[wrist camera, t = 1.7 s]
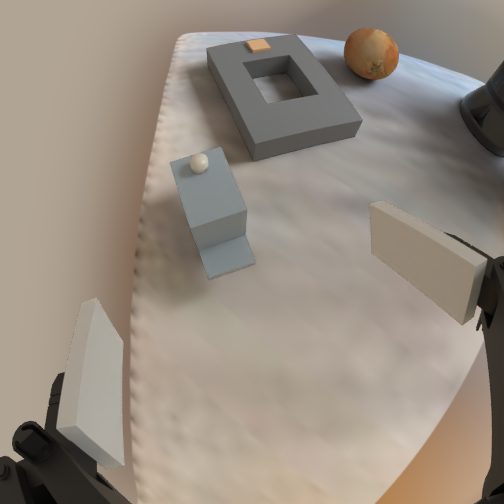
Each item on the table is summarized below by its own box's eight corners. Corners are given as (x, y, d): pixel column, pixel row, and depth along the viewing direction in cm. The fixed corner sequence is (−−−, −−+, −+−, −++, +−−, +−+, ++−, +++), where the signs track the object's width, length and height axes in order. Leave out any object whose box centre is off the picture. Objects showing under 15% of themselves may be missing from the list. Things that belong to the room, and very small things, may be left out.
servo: (253, 273, 36) (260, 237, 25) (212, 287, 35) (199, 258, 24) (217, 179, 40) (211, 117, 28) (180, 191, 39) (161, 133, 27)
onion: (347, 88, 46) (364, 44, 37) (332, 54, 49) (344, 13, 40) (395, 93, 47) (416, 54, 37) (377, 59, 50) (392, 22, 40)
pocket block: (354, 136, 43) (364, 117, 38) (253, 161, 41) (255, 140, 36) (292, 50, 49) (296, 31, 44) (207, 65, 46) (206, 45, 42)
